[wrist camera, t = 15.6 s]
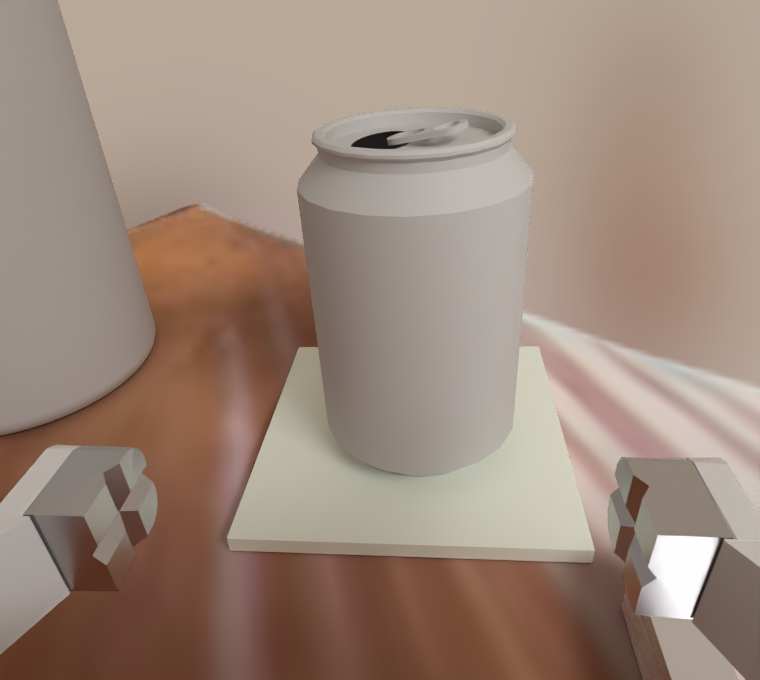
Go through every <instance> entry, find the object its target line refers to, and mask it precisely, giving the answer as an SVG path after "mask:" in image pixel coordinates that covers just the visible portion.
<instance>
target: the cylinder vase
mask: <svg viewBox="0 0 760 680" xmlns="http://www.w3.org/2000/svg"><path fill="white" fill-rule="evenodd" d="M155 333H156V329H155V322H154V319H153V316H152V312H151V309H150V306H149V302H148V299H147V296H146V292H145V289H144V286H143V283H142V279H141V276H140V273H139V269H138V266H137V263H136V259H135V256H134V253H133V249H132V246H131V243H130V239H129V236H128V233H127V229H126V226H125V223H124V220H123V216H122V213H121V210H120V206H119V203H118V200H117V196H116V193H115V190H114V186H113V183H112V180H111V176H110V173H109V170H108V166H107V163H106V160H105V157H104V153H103V150H102V147H101V143H100V140H99V137H98V133H97V130H96V127H95V123H94V120H93V117H92V113H91V110H90V107H89V103H88V100H87V97H86V94H85V90H84V87H83V84H82V80H81V77H80V74H79V70H78V67H77V64H76V60H75V57H74V54H73V50H72V47H71V44H70V40H69V38H68V34H67V30H66V27H65V24H64V21H63V17H62V14H61V11H60V7H59V4H58V1H57V0H0V436H1V435H6V434H11V433H15V432H20V431H23V430H27V429H31V428H34V427H37V426H40V425H44V424H46V423H49V422H52V421H55V420H57V419H60V418H62V417H65V416H67V415H70V414H72V413H74V412H76V411H78V410H80V409H82V408H84V407H86V406H88V405H90V404H92V403H94V402H96V401H97V400H99V399H101V398H102V397H104V396H106V395H107V394H109V393H110V392H112V391H113V390H114V389H116V388H117V387H119V386H120V385H121V384H122V383H124V382H125V381H126V380H127V379H128V378H130V377H131V376H132V375H133V374H134V373H135V372H136V371H137V370H138V368H139V367H140V366H141V365H142V364H143V362H144V361H145V360H146V358H147V357H148V355H149V353H150V351H151V349H152V347H153V344H154V340H155Z"/></svg>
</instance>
